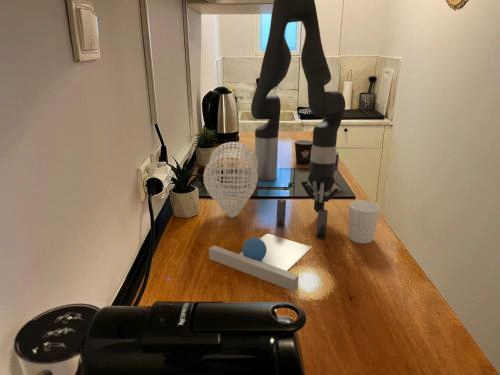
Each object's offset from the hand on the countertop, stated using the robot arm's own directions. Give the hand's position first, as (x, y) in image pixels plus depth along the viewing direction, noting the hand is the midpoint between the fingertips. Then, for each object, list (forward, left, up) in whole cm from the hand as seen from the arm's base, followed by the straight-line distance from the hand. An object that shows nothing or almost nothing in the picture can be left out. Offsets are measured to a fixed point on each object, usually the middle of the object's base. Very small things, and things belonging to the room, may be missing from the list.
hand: (318, 211), depth 120 cm
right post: (+7, -13, -2) cm, 15 cm away
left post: (-6, -13, -2) cm, 15 cm away
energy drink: (-10, +33, -2) cm, 35 cm away
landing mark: (0, -27, -2) cm, 27 cm away
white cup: (+16, -7, -2) cm, 18 cm away
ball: (-2, -34, +2) cm, 34 cm away
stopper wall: (0, -39, -2) cm, 39 cm away
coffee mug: (-29, +51, -2) cm, 59 cm away
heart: (-22, -16, -2) cm, 27 cm away
